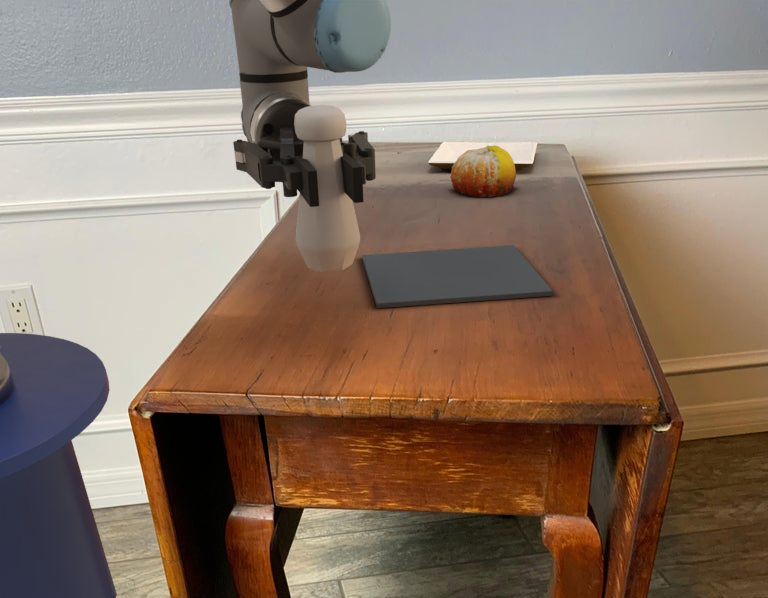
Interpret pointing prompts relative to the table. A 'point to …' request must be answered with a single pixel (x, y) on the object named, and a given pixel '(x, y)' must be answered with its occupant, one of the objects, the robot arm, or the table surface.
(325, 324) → the table surface
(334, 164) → the salt shaker
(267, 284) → the table surface
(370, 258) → the center mat
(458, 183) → the fruit
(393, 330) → the table surface
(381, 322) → the table surface
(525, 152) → the plate
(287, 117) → the robot arm
